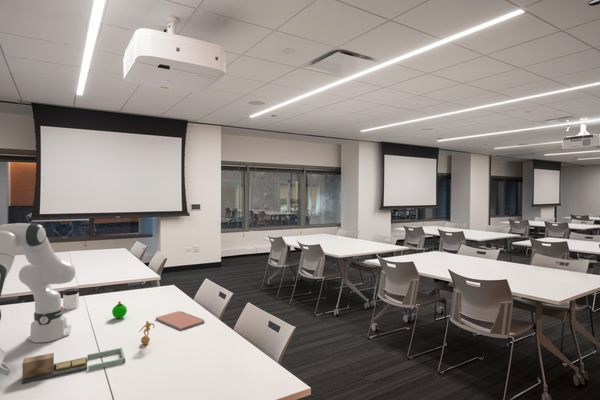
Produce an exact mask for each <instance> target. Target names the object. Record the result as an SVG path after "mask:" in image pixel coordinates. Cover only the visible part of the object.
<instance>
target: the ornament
mask: <svg viewBox="0 0 600 400" xmlns="http://www.w3.org/2000/svg"><path fill="white" fill-rule="evenodd" d="M127 312H128V307H127V306H126V305H124V304H122V302H121V301H120V300H119V301H118V304H116V305H115V306H113V308H112V310H111V314H112V316H113V317H114V318H115V319H121V318H123V317H125V315H126V314H127Z"/></svg>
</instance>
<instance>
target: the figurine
mask: <svg viewBox="0 0 600 400" xmlns="http://www.w3.org/2000/svg"><path fill="white" fill-rule="evenodd" d="M145 322H146V323H145V325H144V326H142V327H141V329H139V331H138V333H140V332H141V331H142V330H143V334H144V336H142V337H141V338H140V342H141V344H143V345H147V344H149V342H150V337H149V335H150V334H149V331H150V330H151V325H153V327H152V328H153V329H155V323H154V322H153V323H152V322H149V321H148V320H146V321H145Z"/></svg>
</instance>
